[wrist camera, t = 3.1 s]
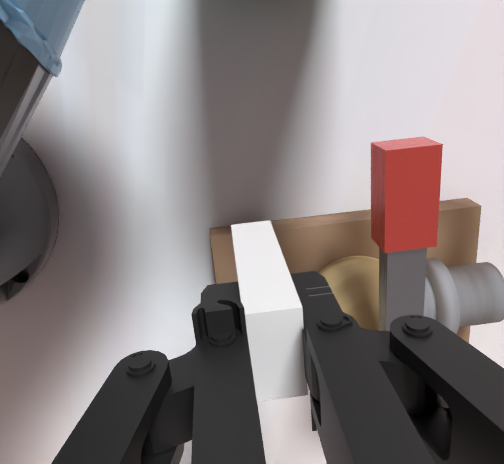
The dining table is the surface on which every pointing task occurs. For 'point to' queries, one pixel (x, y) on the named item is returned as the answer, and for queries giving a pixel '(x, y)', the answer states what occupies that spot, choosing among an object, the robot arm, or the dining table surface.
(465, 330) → the valve rig
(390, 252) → the lever
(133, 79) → the dining table surface
